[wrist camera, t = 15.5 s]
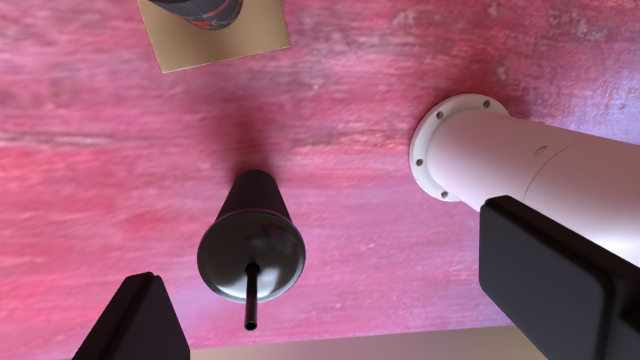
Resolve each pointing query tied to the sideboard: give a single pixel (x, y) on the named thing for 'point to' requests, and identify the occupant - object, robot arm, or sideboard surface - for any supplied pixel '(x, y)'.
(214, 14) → the deodorant
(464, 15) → the sideboard surface
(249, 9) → the coaster
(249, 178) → the drinking cup
